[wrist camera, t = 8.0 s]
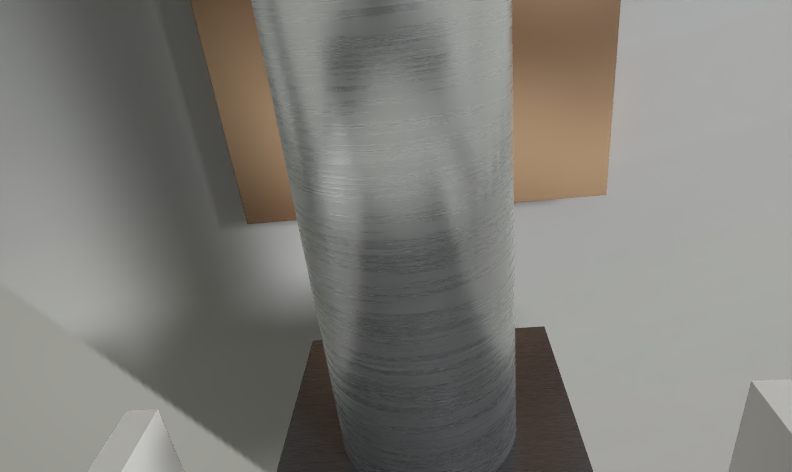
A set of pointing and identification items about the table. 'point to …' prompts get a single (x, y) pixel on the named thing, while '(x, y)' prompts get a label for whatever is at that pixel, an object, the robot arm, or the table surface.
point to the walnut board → (532, 100)
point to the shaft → (410, 241)
